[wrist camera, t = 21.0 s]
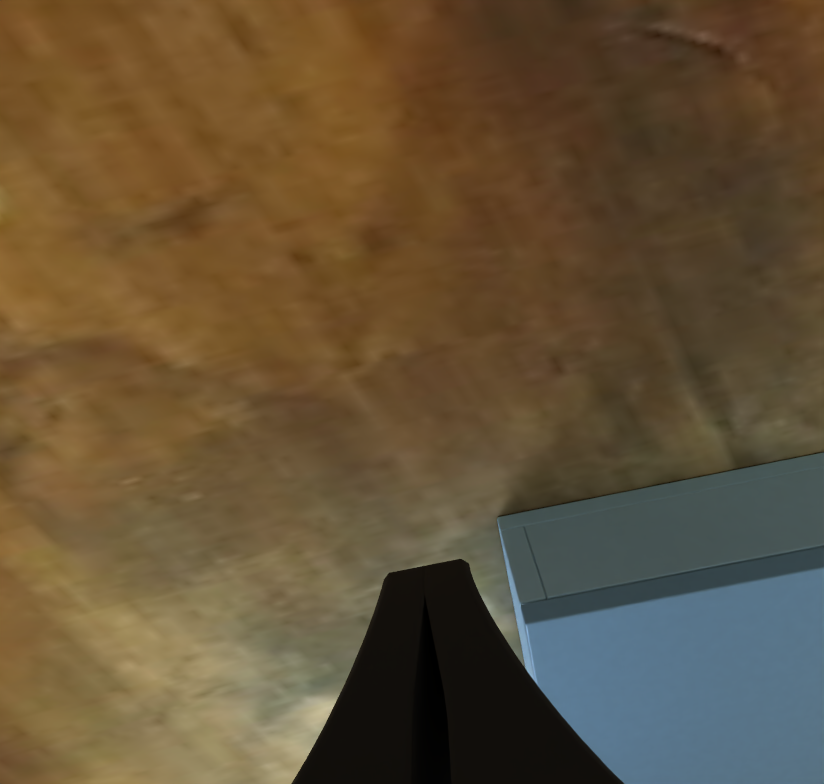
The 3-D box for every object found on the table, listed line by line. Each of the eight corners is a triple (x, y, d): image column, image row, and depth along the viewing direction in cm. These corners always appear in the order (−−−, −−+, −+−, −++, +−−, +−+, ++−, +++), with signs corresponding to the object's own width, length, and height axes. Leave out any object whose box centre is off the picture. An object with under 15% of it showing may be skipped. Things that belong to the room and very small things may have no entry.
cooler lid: (930, 784, 23) (948, 807, 22) (565, 847, 23) (571, 871, 23) (972, 517, 18) (997, 534, 17) (519, 604, 19) (524, 624, 18)
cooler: (850, 673, 26) (932, 773, 22) (537, 729, 27) (563, 837, 23) (867, 442, 22) (971, 516, 18) (496, 516, 23) (519, 602, 19)
